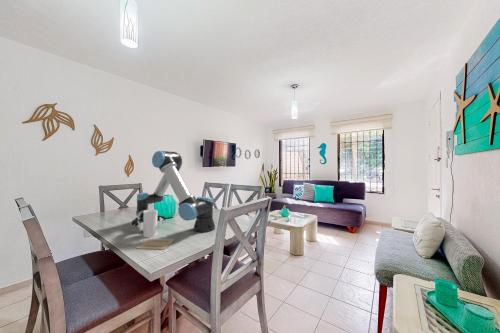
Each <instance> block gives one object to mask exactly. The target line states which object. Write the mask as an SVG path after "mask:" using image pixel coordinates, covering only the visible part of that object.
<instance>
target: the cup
mask: <svg viewBox="0 0 500 333" xmlns="http://www.w3.org/2000/svg"><path fill="white" fill-rule="evenodd" d="M157 215H158V209H148V210H146V211H144V212H143V222H142V223H143V231H142V233H143V235H142V236H143V238H153V237H156V236H157V235H158V221H157Z"/></svg>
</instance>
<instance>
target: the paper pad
mask: <svg viewBox="0 0 500 333" xmlns="http://www.w3.org/2000/svg"><path fill="white" fill-rule="evenodd" d="M174 241H175V239H164V238H163V239H162V238H161V239H159V238H157V239H155V238H148V239H147V240H146V241H145V240H144V242H142V243H141V244H140V245H139V246H137V247H135V250H137V249H138V250H166V249H167V248H168V247H169V246H170V245H171V244H172V243H173V242H174Z"/></svg>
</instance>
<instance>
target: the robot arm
mask: <svg viewBox="0 0 500 333" xmlns="http://www.w3.org/2000/svg"><path fill="white" fill-rule="evenodd" d="M151 163H152V166H153V167H154V168H157V169H158V168H159V172H161V173H163V175H162V177H161V179H160V181H159V182H158V184H157V186H156V188H155V190H154V192H153V193H152V194H148V192H140V193H138V194H137V195H136V211H135V215H136V217H135V218H134V219H133V220H132V221H131V226H135V227H138V229H140V228H141V223H143V212H144V211H146V210H149V205H152V204H156V203H160V202H161V203H162V202H163V201H164V200H165V193H166V192H167V190H168V188H169V186H170V187H171V189H172V191H173V192H174V194H175V196H176V198H177V201H179V202H178V208H177V209H178V211H177V212H178V215H179V217H180V218H181V219H182V220H184V221H187V222H188V221H193V220H195V221H194V224H193V231H195V232H198V233H207V232H212V231H214V230H215V229H216V225H215V224H216V223H215V221H214V218H213V215H214V212H213V211H214V201H213V200H214V199H213V198H212V197H207V196H197V197H196V196H194V195H192V194H191V192H190V191H189V189H188V187H187V184H186V183H185V182H184V180H183V178H182V176H181V174H180V170H181V168H182V165H183V158H182V156H181V155H180V154H179V152H176V151H168V150H167V151H166V150H158V151H156V152H154V153H153V155H152V158H151ZM158 221H159V222H160V223H161V224H164V222H165V216H164V215H160V214H157V222H158Z"/></svg>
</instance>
